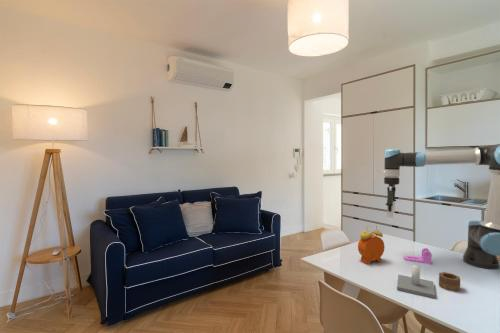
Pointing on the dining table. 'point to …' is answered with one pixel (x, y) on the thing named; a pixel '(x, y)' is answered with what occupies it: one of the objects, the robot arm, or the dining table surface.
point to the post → (416, 284)
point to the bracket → (424, 259)
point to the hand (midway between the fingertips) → (390, 214)
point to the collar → (449, 281)
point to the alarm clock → (371, 246)
